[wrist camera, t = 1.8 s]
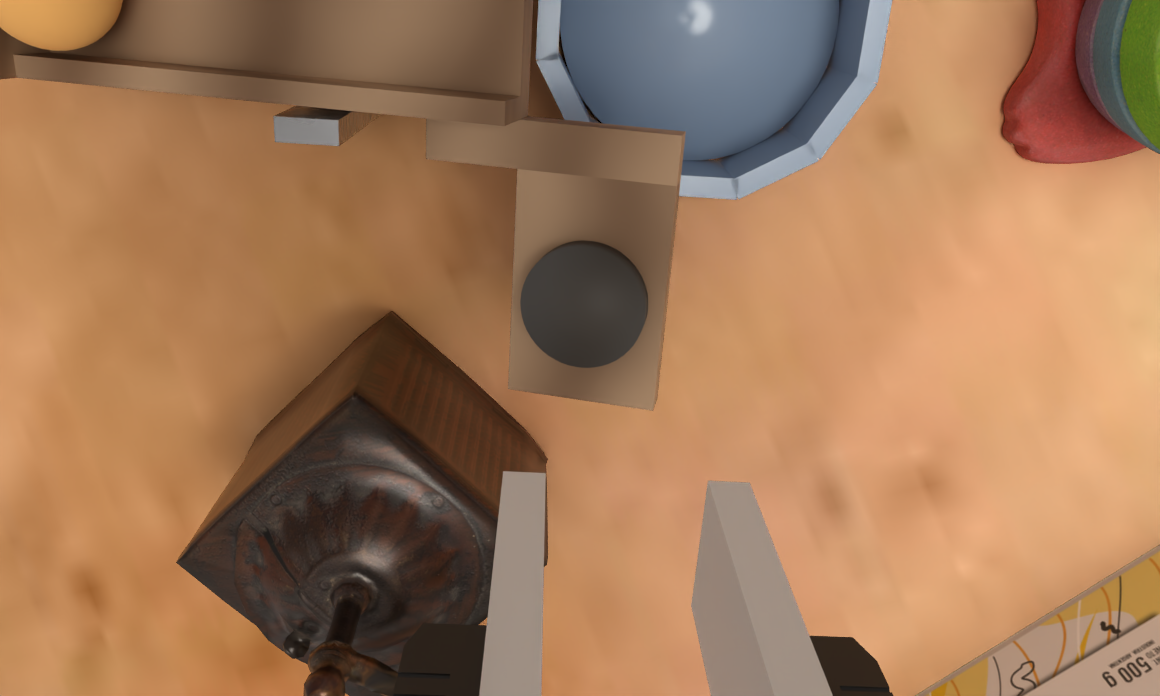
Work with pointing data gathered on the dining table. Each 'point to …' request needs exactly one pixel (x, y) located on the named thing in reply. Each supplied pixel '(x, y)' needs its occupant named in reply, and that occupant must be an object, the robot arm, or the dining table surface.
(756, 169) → the bowl
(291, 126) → the stand
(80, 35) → the ball
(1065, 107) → the stacking bear
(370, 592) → the brown manual coffee grinder
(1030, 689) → the pasta box
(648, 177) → the lever
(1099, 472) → the dining table surface
